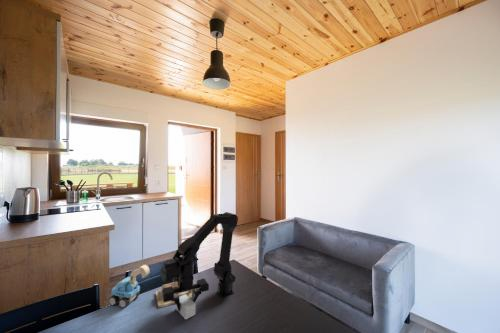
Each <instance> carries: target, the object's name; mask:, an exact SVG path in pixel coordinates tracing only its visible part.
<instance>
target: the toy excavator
mask: <svg viewBox="0 0 500 333" xmlns="http://www.w3.org/2000/svg"><path fill="white" fill-rule="evenodd" d="M150 272H151V271H150V267H149V266H148V265H147V264H143V265H141V266H139V268H137V269H135V270H133V271H131V272H130V276H127V277H125V278H123V279H122V280H120V281H119V282H117V283H116V285H115V286H114V287H113V288H112V289H111V293H110V294H111V296H110V297H109V298H108V304H109V305H110V306H116V305H117V304H118V305H119V308H121V309H124V308H126V307H127V306H128V305H130V303H131V302H133V301H134V300H136V299H137V298H138V297H139V296H140V292H141V291H140V290H141V286H140V285H139V282H138V281H137V276H138V275H141V278H142V279H144V278H146V277H147V276H148V275H149V274H150ZM116 303H117V304H116ZM113 304H115V305H113Z"/></svg>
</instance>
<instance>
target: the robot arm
mask: <svg viewBox="0 0 500 333" xmlns="http://www.w3.org/2000/svg"><path fill="white" fill-rule="evenodd" d="M238 222H239V216H237V214H235V213H233V212H228V211H226V212H224V213H217V214H214V213H213V214H211V215H210V217H209V218H208V219H207V220H206V222H205V223H204V224H203V225H202V226H201V227H200V228H199V229H198V230H197V231H196V232H195V233H194V234H193V235H192V236H191V237H189V238H186V239H185V240H184V241H182V242H181V243H180V244H179V245H178V247H177V248H178V249H177V250H176V252H175V254H174V255H173V256H172V260H171V261H167V262H164V263H162V266H161V268H160V270H159V274H160V279H161V281H163V282H162V283H165V282H168V281H170V280H172V283H173V282H177V283H178V286H179V288H177V289H173V288H172V286H171V287H167V288H163V290H162V289H161V290H162V297H163V301H164V302H166V301H170V300H172V302H173V301H175V306H176V305H177V308H178V311H180V301H179V296H178V294H179V293H183V292H187V291H191V290H192V299H191V300H192V301H193V302H194V303H195V304H196V301H197V299H198V298H199V296H200V295H201V294H202V293H203V292H207V291H209V290H210V285H209V284H210V283H208V281H207V280H206V278H201V279H198V280H197V281H196V282H194V262H197V261H199V258H198V257H196V255H197V253H198V252H199V251H200V248H201V245H202V243H203V242H204V241H205V240H206V239H207V237H208V236H209V235H210V234H211V233H212V231H214V230H215V229H216V227H217V226H218V225H220V226H221V228H222V236H221V237H222V238H221V244H220V245H221V246H220V252H219V260H218V261H217V262H214V268H213V272H214V276H216V279H218V283H217V293H218V294H219V295H220V297H221V298H224V297H226V296H228V297H229V296H231V295H234V293H235V292H234V291H233V283H235V281H236V275H234V274H233V273H232V271H233V270H232V265H231V258H230V257H231V251H232V243H233V233H234V230H235V229H236V228H237V226H238ZM182 257H183V258H182ZM178 311H177V312H178Z"/></svg>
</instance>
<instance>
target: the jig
mask: <svg viewBox="0 0 500 333" xmlns="http://www.w3.org/2000/svg"><path fill="white" fill-rule="evenodd" d="M185 294H186V295H187V296H188V297H189V298H190V299H192V290H191V291H187V292H183V293H179V294H178V296H179V297H180V296H183V295H185ZM155 298H156V304H157V308H158V309H160V308H163V307H167V306H168V307H169V306H171V305H172V306H173V305H176V303H175V301H173V302H172V300H170V301H166V302H164V301H163V297H162V289H161V290H160V289H159V290H155Z"/></svg>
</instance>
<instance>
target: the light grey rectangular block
mask: <svg viewBox="0 0 500 333" xmlns="http://www.w3.org/2000/svg"><path fill="white" fill-rule="evenodd" d="M179 301H180V311H178V308H177V305H176V304H175V310H176V311H177V312H178V313H179V314H180V315H181V316H182V318H184V320H189V318H190V319H191V318H192V317H193V316H196V307H197V306H196V302H195V303H194V302H193V301H192V300H191V299H190V298H189V297H188V296H187V295H186V294H185V295H183V296H180V297H179Z"/></svg>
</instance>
